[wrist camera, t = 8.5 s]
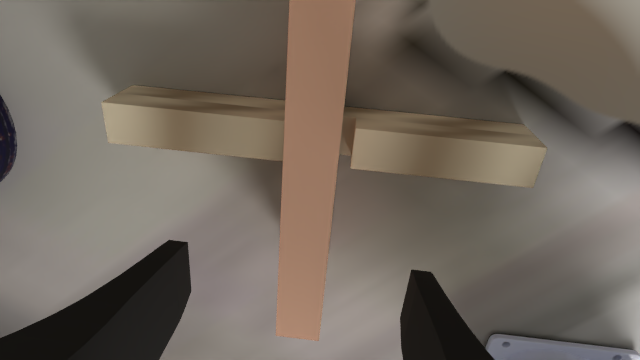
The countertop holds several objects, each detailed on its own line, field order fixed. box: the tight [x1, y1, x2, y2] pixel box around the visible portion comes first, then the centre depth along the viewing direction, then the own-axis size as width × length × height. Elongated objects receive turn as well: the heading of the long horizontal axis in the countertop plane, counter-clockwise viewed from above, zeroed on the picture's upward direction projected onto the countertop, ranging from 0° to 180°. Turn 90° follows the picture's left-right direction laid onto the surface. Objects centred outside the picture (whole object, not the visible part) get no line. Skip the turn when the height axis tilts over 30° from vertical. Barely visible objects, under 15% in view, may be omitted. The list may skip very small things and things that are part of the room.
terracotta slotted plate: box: [276, 0, 356, 341], centre depth 19 cm, size 16×2×7 cm, turn 176°
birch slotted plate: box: [101, 85, 547, 188], centre depth 21 cm, size 20×2×3 cm, turn 86°
